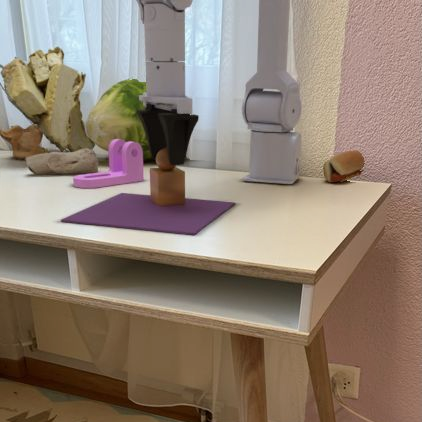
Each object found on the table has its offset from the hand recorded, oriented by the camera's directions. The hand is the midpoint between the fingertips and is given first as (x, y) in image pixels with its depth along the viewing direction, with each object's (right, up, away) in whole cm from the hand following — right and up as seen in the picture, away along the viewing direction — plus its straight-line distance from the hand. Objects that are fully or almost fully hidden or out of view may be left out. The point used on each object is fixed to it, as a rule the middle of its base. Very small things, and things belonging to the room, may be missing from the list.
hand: (167, 160), depth 93 cm
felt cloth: (-2, -8, -2) cm, 9 cm away
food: (+32, +10, +24) cm, 41 cm away
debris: (-30, +23, +38) cm, 54 cm away
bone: (-34, +16, +43) cm, 57 cm away
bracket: (-13, +2, +18) cm, 22 cm away
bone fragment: (-18, +5, +22) cm, 29 cm away
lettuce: (-6, +14, +38) cm, 41 cm away
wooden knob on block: (0, -6, +3) cm, 6 cm away
